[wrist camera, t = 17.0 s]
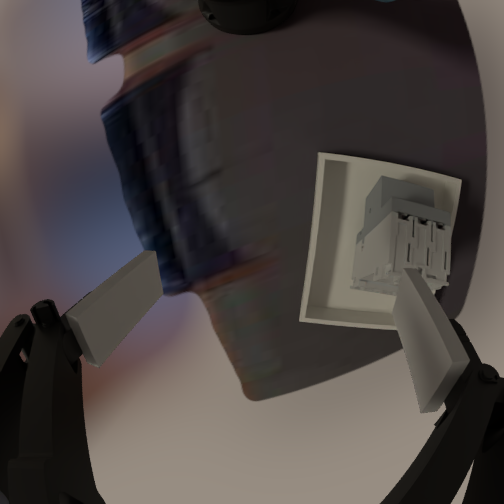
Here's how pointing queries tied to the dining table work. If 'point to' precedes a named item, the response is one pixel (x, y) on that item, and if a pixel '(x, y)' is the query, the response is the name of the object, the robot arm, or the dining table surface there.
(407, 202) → the circuit breaker
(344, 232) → the parts tray
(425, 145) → the dining table surface
